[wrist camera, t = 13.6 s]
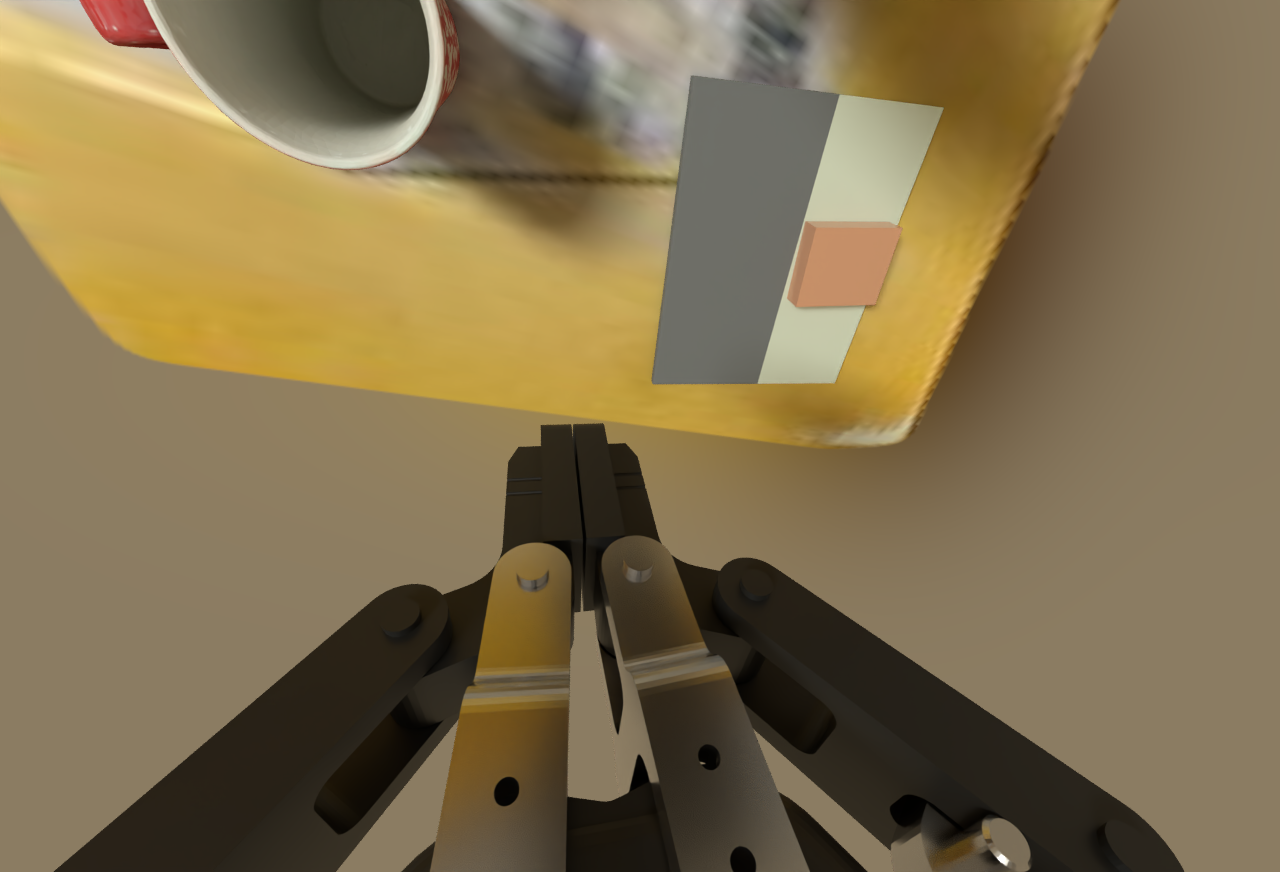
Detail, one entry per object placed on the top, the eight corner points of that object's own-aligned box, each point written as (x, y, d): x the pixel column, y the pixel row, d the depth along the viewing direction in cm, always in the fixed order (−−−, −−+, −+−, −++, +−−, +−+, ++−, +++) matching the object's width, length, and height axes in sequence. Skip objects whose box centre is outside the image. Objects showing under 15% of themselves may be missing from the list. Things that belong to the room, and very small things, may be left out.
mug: (466, -70, 24) (414, -173, 14) (487, 138, 30) (461, 176, 19) (181, -109, 22) (-139, -268, 12) (261, 123, 28) (92, 158, 17)
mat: (691, 75, 30) (693, 75, 29) (938, 107, 33) (944, 107, 33) (651, 380, 43) (652, 384, 42) (831, 379, 46) (834, 383, 46)
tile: (816, 227, 34) (902, 227, 36) (805, 221, 36) (888, 221, 37) (796, 307, 38) (875, 304, 39) (786, 298, 39) (863, 296, 41)
